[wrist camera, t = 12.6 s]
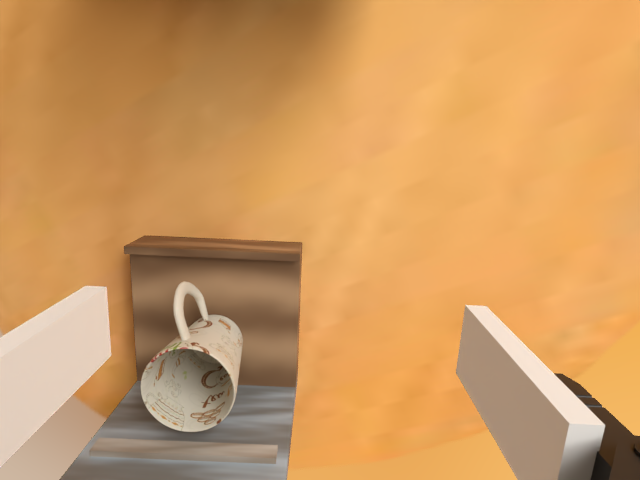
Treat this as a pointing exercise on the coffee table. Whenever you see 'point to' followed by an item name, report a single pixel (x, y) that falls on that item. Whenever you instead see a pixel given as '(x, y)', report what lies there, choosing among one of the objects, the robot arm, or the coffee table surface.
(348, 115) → the coffee table surface
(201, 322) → the mug
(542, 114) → the coffee table surface
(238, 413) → the cleat board
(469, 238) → the coffee table surface
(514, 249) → the coffee table surface
